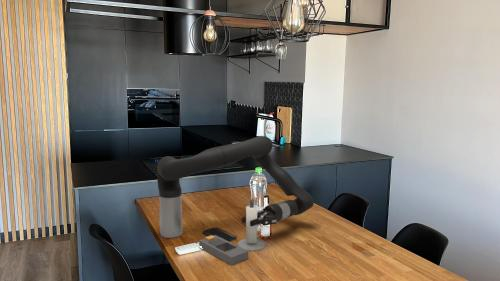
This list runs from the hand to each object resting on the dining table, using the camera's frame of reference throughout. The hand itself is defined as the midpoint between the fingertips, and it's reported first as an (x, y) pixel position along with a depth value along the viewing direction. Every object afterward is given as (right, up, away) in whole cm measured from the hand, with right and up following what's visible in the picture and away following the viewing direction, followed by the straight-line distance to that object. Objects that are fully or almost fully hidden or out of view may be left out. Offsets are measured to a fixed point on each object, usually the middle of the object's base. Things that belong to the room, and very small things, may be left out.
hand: (246, 222), depth 155 cm
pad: (+2, -10, +3) cm, 11 cm away
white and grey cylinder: (+2, -8, +3) cm, 9 cm away
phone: (-12, -9, +13) cm, 19 cm away
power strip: (-9, -11, -4) cm, 15 cm away
